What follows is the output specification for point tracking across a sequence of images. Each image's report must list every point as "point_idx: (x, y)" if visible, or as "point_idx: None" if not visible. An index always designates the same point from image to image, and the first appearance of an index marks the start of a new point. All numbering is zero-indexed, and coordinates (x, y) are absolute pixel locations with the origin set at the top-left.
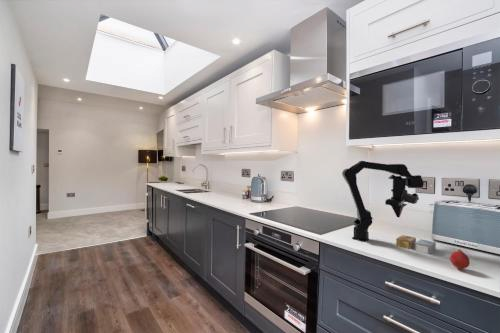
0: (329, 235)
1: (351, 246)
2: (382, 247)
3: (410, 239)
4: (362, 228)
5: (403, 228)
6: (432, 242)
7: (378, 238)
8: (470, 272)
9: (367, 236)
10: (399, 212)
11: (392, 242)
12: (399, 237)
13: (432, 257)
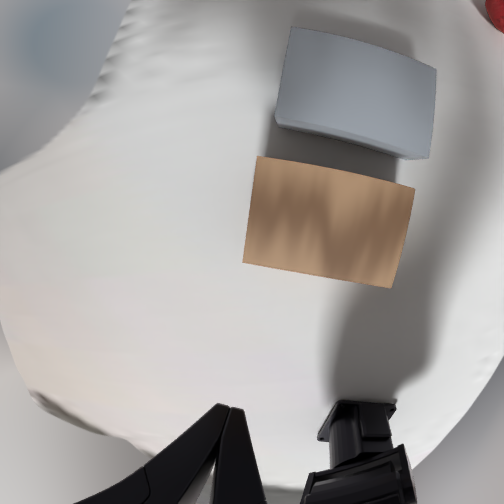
0: None
1: (469, 403)
2: (444, 321)
3: (353, 190)
4: (408, 460)
5: (11, 269)
6: (315, 42)
7: (278, 371)
8: None
9: (374, 415)
10: (262, 487)
11: (313, 298)
12: (347, 273)
13: (450, 80)
